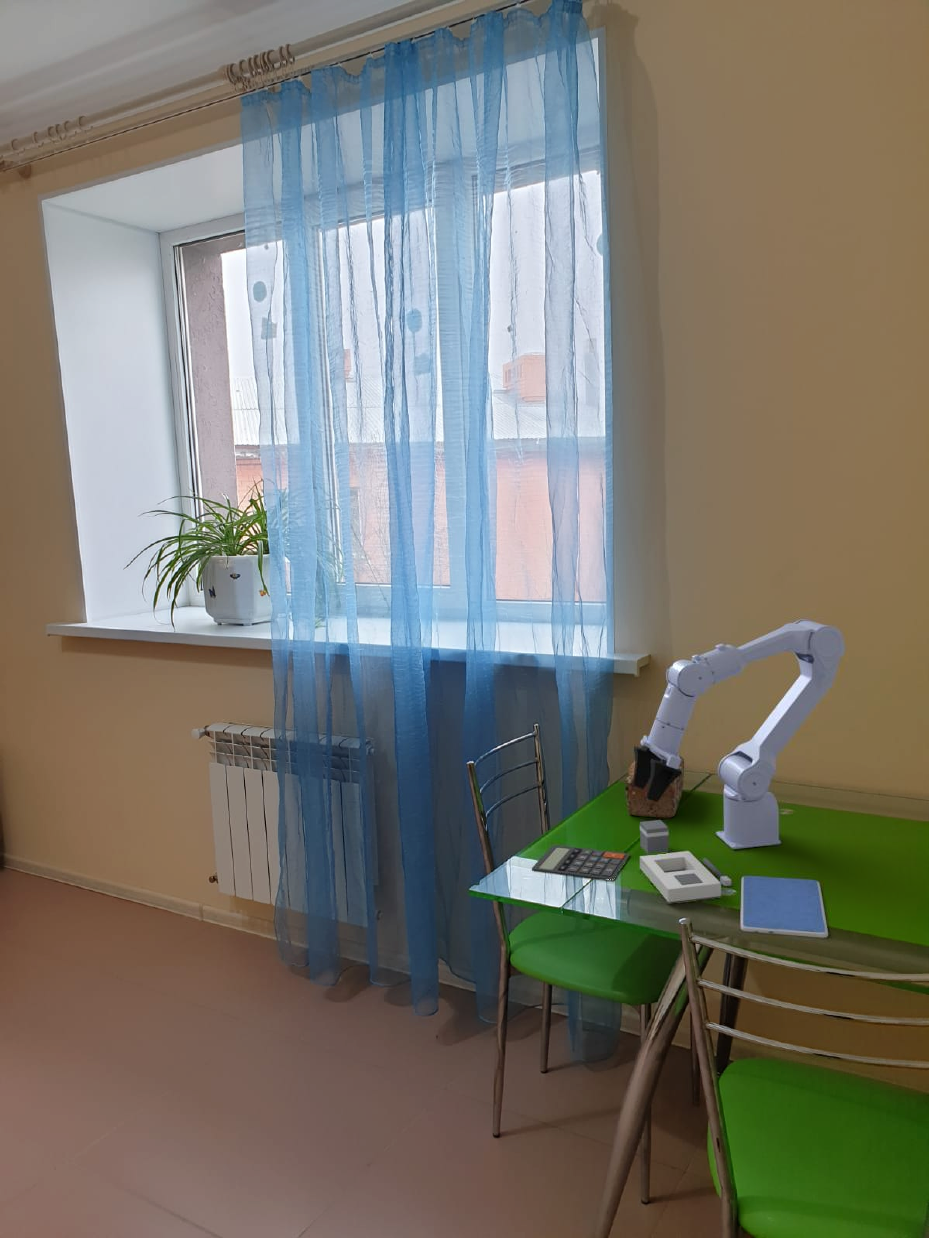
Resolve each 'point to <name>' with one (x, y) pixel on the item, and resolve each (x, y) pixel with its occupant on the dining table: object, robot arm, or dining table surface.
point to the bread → (647, 807)
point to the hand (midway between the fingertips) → (644, 793)
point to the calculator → (581, 862)
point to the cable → (717, 873)
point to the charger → (654, 836)
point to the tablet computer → (782, 906)
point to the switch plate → (680, 877)
